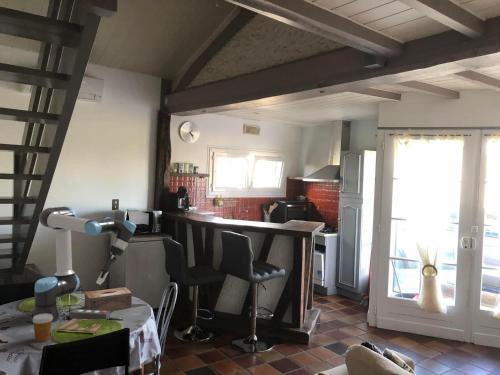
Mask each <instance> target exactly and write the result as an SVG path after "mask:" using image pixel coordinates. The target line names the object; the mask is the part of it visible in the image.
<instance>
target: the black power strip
mask: <svg viewBox="0 0 500 375" xmlns="http://www.w3.org/2000/svg"><path fill="white" fill-rule="evenodd" d="M111 313H112V311H105V310H86V309H85V308H83V309H81V308H74V309H72V310H71V311H70V312H69V319H70V320H72V319H108V320H113V321H114V320H115V321H123V320H124V318H122V317H111Z"/></svg>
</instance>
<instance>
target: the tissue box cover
mask: <svg viewBox="0 0 500 375" xmlns="http://www.w3.org/2000/svg"><path fill="white" fill-rule="evenodd" d="M132 300H133V293H132V292H131V291H130V290H129V289H128V288H127V287H124V286H123V287H117V288H110V289H109V288H108V289H102V290H99V289H98V290H93V291H85V292H84V309H86V310H105V311H111V312H112V311H120V310H125V309H132V306H133V305H132V302H133V301H132Z"/></svg>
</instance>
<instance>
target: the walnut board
mask: <svg viewBox="0 0 500 375" xmlns="http://www.w3.org/2000/svg"><path fill="white" fill-rule="evenodd" d="M81 320H89V319H70V320H69V321H68V322H66V323H65V324H63V325H61V326H60V327H58V329H57V331H58V330H69V331H92V332H94V331H96V330H97V329H98V328H99V327H100V326H101V325H102V323H101V324H97V325H96V324H94V325H92V327H91V328H88V327H87V328H86V329H85V328H82V327H81V326H78V324H77V322H78V321H81Z"/></svg>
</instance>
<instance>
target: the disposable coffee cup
mask: <svg viewBox="0 0 500 375" xmlns="http://www.w3.org/2000/svg"><path fill="white" fill-rule="evenodd" d="M52 320H53V316H52V314H47V313H46V314H39V315H36V316H34V317H33V319H32V321H33V323H32V324H33V331H34V339H35V342H38V343H42V342H43V343H44V342H47V341H48V340H50V337H51V336H50V335H51V331H52V330H51V329H52V324H53V322H52Z"/></svg>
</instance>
